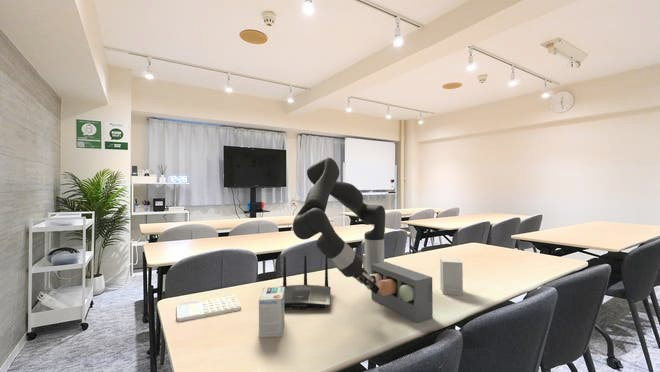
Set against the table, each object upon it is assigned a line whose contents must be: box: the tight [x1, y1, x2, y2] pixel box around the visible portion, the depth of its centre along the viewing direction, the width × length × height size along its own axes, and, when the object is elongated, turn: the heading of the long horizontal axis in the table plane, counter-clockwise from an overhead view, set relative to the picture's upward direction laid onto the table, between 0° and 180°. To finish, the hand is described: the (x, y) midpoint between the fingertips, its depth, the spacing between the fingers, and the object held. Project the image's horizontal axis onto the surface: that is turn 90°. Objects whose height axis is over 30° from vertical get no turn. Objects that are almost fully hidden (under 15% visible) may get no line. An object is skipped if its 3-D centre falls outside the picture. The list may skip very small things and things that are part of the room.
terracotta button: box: [378, 278, 398, 296], centre depth 102 cm, size 5×5×5 cm
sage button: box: [399, 284, 414, 302], centre depth 97 cm, size 5×5×5 cm
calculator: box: [176, 294, 242, 322], centre depth 105 cm, size 13×20×2 cm, turn 117°
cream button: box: [366, 273, 383, 290], centre depth 109 cm, size 5×5×5 cm
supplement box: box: [439, 257, 464, 296], centre depth 120 cm, size 7×7×13 cm
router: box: [279, 254, 332, 310], centre depth 113 cm, size 21×20×15 cm
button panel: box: [370, 261, 434, 324], centre depth 105 cm, size 7×23×13 cm, turn 29°
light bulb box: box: [258, 286, 285, 338], centre depth 90 cm, size 11×7×11 cm, turn 5°
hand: (376, 290), depth 100 cm, fingers closed
